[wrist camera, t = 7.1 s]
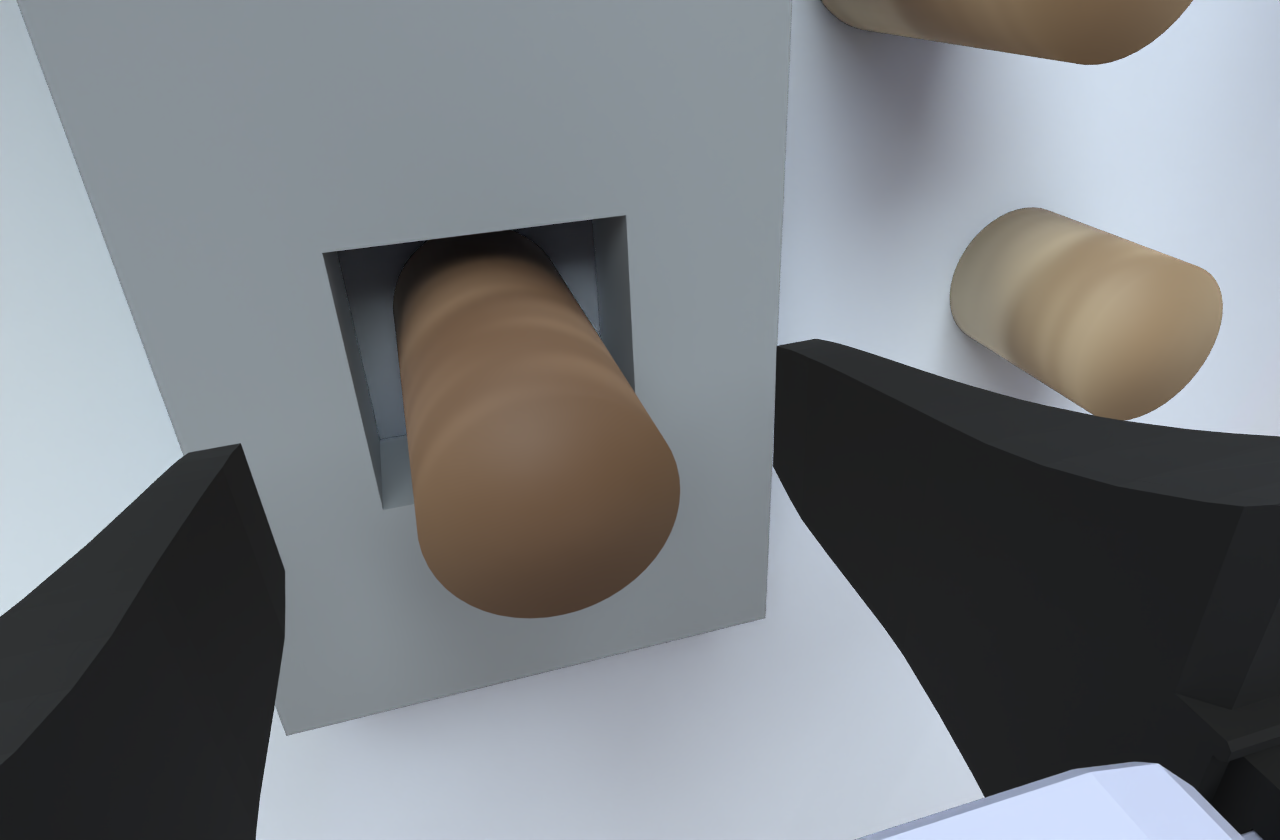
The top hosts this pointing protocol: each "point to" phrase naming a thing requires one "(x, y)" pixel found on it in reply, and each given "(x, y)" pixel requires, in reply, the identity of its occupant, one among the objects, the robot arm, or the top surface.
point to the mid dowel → (1021, 24)
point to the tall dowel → (523, 434)
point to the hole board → (430, 209)
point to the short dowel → (1086, 311)
